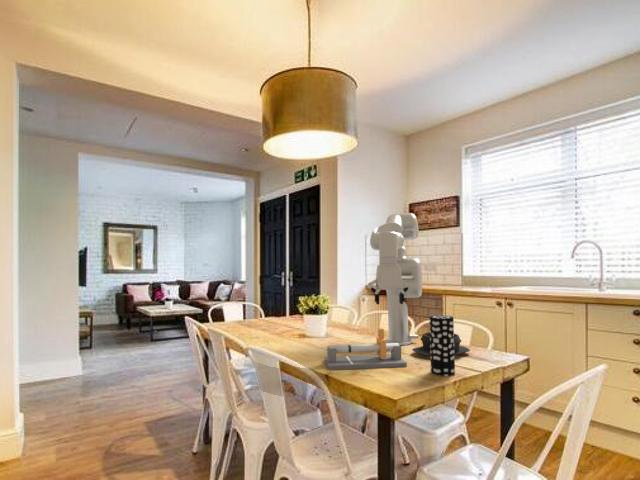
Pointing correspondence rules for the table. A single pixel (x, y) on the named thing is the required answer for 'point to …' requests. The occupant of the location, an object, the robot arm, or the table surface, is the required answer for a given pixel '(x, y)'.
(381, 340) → the collar
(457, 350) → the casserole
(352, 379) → the table surface
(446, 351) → the white-spotted black cylinder
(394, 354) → the pipe rig
